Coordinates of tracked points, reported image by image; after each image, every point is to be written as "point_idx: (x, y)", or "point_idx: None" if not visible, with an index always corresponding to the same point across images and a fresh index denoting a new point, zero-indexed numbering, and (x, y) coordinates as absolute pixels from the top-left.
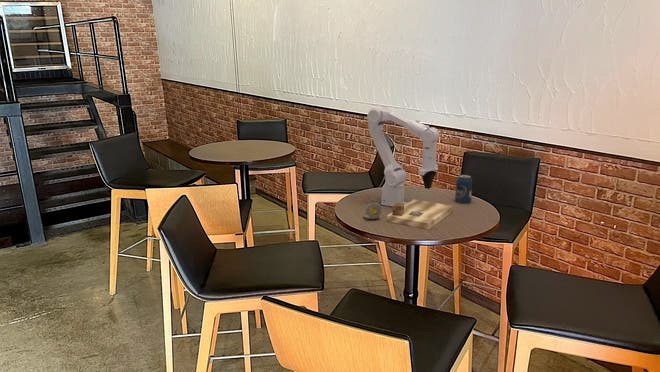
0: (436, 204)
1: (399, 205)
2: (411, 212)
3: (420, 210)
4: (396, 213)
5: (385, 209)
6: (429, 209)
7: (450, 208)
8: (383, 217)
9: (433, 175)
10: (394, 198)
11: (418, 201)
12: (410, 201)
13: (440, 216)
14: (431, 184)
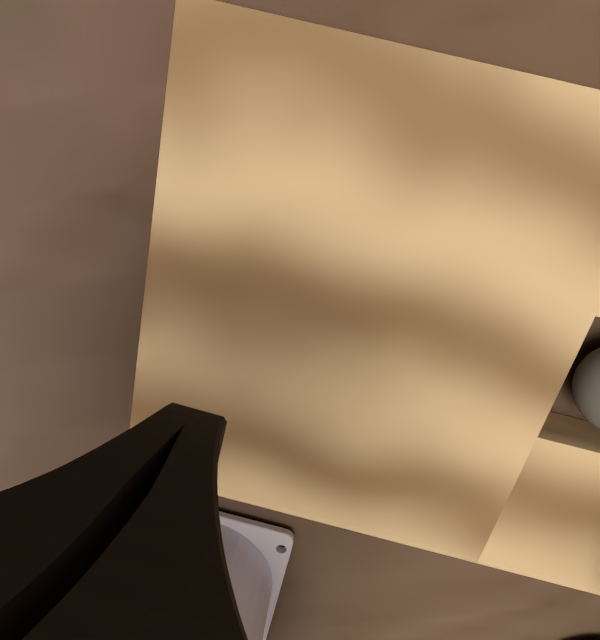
0: (202, 224)
1: None
2: (568, 442)
3: (494, 366)
4: None
5: (362, 613)
6: (429, 276)
7: (267, 15)
8: (579, 607)
9: (60, 611)
10: (259, 637)
11: None
12: None
13: None
14: (143, 431)
